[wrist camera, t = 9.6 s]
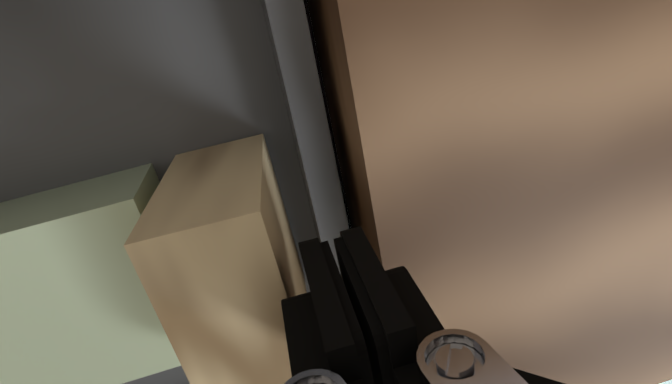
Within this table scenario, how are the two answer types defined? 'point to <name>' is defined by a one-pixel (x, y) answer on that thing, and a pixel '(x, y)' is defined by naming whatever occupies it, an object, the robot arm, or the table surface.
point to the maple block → (220, 263)
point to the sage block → (78, 286)
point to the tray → (164, 98)
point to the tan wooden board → (515, 169)
